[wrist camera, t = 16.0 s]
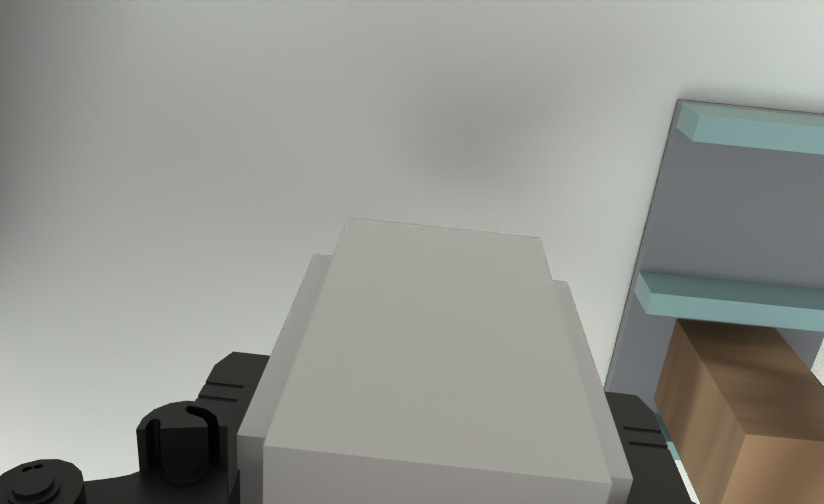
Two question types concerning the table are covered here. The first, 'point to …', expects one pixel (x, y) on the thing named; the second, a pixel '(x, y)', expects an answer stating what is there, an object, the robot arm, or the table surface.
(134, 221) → the table surface
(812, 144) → the teal-ribbed grey panel
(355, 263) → the white rectangular block
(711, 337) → the walnut plug
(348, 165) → the table surface
